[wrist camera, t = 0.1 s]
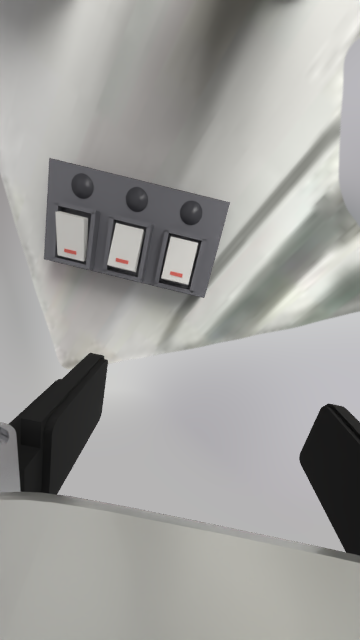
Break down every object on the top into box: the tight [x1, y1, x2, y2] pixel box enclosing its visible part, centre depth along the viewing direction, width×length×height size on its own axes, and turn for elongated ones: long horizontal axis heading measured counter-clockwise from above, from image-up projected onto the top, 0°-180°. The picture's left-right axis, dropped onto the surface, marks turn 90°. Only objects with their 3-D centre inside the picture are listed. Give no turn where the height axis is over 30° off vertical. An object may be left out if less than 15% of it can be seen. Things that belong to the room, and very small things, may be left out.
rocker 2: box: [161, 237, 198, 285], centre depth 33 cm, size 6×4×1 cm, turn 167°
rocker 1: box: [55, 211, 88, 261], centre depth 33 cm, size 6×4×1 cm, turn 167°
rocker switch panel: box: [44, 158, 230, 298], centre depth 35 cm, size 14×26×6 cm, turn 77°
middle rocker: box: [107, 223, 145, 272], centre depth 33 cm, size 6×4×1 cm, turn 167°
